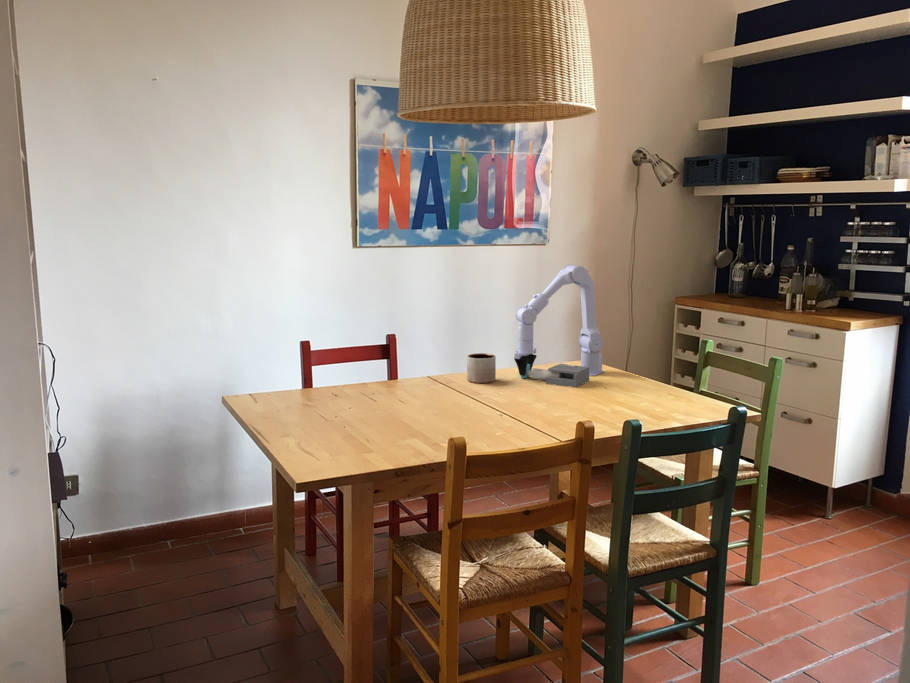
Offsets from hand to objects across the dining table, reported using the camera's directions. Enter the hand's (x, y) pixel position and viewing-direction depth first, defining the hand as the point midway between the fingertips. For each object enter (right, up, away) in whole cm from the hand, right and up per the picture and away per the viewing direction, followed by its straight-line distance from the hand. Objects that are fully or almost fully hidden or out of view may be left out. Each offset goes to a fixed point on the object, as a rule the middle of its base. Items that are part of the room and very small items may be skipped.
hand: (525, 374), depth 305 cm
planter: (-17, -2, -4) cm, 18 cm away
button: (+17, +1, -5) cm, 18 cm away
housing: (+15, -3, -8) cm, 17 cm away
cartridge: (+6, -2, -3) cm, 7 cm away
